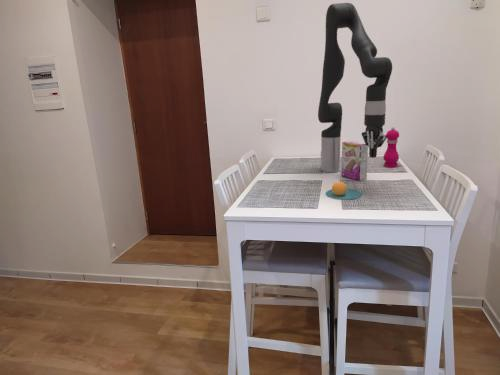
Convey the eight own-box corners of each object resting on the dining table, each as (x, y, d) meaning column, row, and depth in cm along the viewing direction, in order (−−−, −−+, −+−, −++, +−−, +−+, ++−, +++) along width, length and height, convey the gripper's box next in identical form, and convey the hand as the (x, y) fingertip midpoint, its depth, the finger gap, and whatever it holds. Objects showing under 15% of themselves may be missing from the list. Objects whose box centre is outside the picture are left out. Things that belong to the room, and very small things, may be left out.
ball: (328, 192, 135) (331, 179, 133) (340, 193, 136) (343, 180, 135) (334, 197, 129) (337, 183, 128) (347, 198, 131) (350, 184, 129)
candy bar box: (340, 176, 159) (341, 141, 154) (348, 174, 161) (349, 140, 157) (359, 181, 150) (360, 144, 145) (367, 179, 152) (368, 143, 147)
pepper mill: (399, 167, 167) (402, 127, 162) (384, 168, 169) (386, 127, 163) (396, 164, 174) (399, 125, 168) (381, 164, 176) (384, 126, 170)
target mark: (319, 191, 139) (319, 191, 139) (348, 186, 143) (348, 186, 143) (337, 201, 126) (337, 201, 126) (369, 196, 130) (369, 195, 130)
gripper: (356, 112, 134) (354, 155, 139) (378, 114, 122) (375, 161, 127) (372, 111, 136) (370, 153, 141) (395, 113, 124) (392, 159, 129)
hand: (372, 157), depth 134 cm, fingers closed
